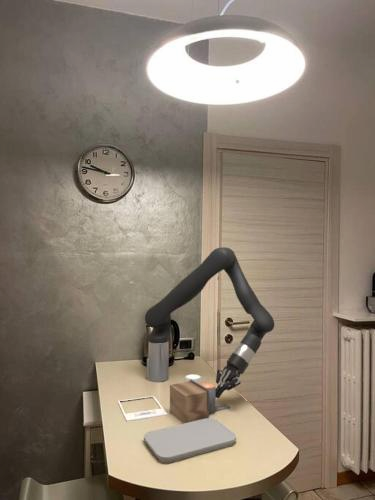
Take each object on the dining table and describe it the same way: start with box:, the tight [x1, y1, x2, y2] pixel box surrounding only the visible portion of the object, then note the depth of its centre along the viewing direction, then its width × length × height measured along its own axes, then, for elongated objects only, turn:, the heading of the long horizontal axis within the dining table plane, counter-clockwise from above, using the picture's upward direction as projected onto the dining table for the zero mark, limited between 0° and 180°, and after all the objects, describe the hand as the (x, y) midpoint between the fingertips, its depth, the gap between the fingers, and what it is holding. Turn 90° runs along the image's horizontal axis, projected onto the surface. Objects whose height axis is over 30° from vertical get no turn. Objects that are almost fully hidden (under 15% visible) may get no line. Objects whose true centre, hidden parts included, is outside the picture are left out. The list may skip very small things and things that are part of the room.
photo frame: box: [117, 395, 168, 423], centre depth 138 cm, size 15×1×18 cm
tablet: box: [143, 417, 237, 464], centre depth 114 cm, size 16×26×2 cm, turn 117°
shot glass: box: [184, 373, 202, 384], centre depth 153 cm, size 7×7×7 cm
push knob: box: [199, 380, 217, 414], centre depth 136 cm, size 6×6×9 cm
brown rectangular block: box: [169, 379, 231, 424], centre depth 135 cm, size 21×12×11 cm, turn 119°
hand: (215, 396), depth 137 cm, fingers closed
